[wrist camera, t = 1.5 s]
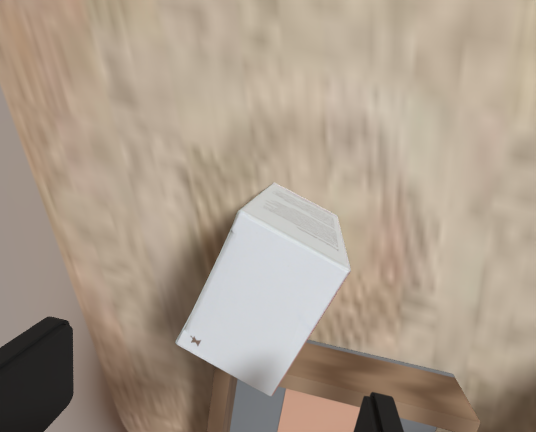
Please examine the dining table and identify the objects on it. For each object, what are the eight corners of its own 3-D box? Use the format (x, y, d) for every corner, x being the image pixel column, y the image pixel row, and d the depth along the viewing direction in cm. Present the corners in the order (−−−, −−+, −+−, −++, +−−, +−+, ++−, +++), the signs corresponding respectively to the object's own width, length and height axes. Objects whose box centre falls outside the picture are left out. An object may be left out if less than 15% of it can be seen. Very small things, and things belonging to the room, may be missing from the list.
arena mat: (452, 374, 24) (455, 378, 24) (406, 502, 28) (407, 507, 28) (232, 322, 27) (231, 325, 26) (215, 447, 30) (213, 451, 30)
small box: (290, 298, 25) (270, 403, 15) (230, 266, 26) (170, 348, 15) (340, 214, 23) (356, 271, 13) (273, 179, 23) (237, 208, 13)
